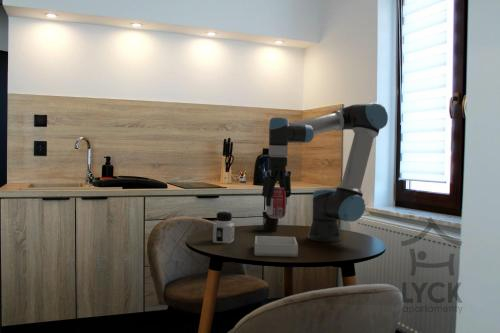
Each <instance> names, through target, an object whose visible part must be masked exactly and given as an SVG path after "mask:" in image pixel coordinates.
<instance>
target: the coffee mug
mask: <svg viewBox="0 0 500 333" xmlns="http://www.w3.org/2000/svg"><path fill="white" fill-rule="evenodd" d="M261 211H262V221H263V230H264V232H268V233H276V232H278V225H279V219H280V218H270V217H269V216H268V214H267V209H264V210H261Z"/></svg>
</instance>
